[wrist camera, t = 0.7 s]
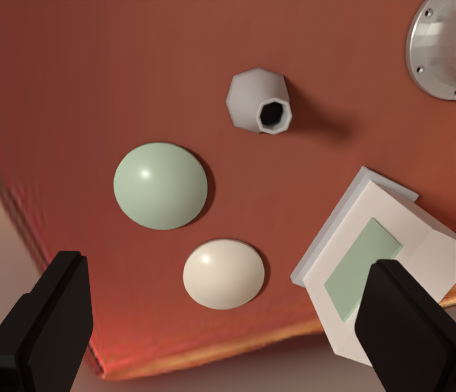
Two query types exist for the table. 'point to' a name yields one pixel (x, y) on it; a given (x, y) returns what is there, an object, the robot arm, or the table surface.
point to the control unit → (372, 254)
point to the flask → (259, 101)
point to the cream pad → (223, 273)
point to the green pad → (160, 185)
